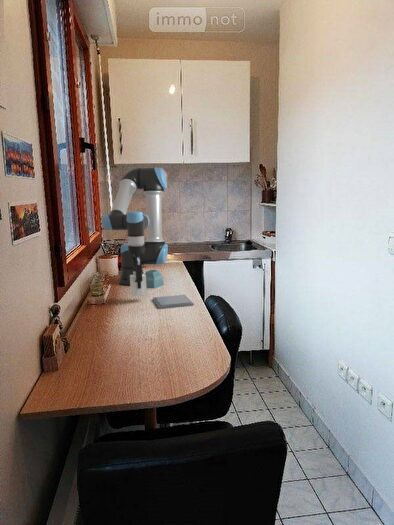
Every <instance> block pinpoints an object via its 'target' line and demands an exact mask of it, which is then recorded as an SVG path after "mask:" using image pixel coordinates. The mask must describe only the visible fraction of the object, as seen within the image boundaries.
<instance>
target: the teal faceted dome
mask: <svg viewBox="0 0 394 525" xmlns="http://www.w3.org/2000/svg"><path fill="white" fill-rule="evenodd" d="M144 274H145V275H146V288H147V289H152V290H153V289H157V288H159V287H162V286H164V279H163V275H162V273H161V272H160V270H157V269H150V270H147V271H145V273H144Z"/></svg>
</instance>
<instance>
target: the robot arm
mask: <svg viewBox="0 0 394 525" xmlns="http://www.w3.org/2000/svg"><path fill="white" fill-rule="evenodd" d="M167 181H168V180H167V175H166V172H165V170H164V168H163V167H136V168H133V169H130V170H129V171H127V173H125V174H124V175H123V176H122V178H121V179H120V180H119V183H118V187H119V189H118V192H117V194H116V196H115V199H114V202H113V205H112V208H111V210H110V212H109V214H104V215H102V218H101V225H102V227H103V230H106V231H107V230H108V231H127V232H126V233H127V238H126V241H127V243H126V242H125V243H123V244H121V246H120V261H121V270H120V274H119V278H118V279H119V280H118V282H119V284H120V285H125V286H130V275H133V272H136V281H135V282H136V295H137V296H143V295H142V274H145V273H144V271H143V265H156V266H157V265H164V264H165V263H166V262H167V259H168V253H169V252H168V250H169V248H168V247H169V244H167V243H166V241H165V240H164V238H163V218H162V215H163V214H162V210H163V209H162V207H163V206H162V205H163V204H162V195H164V193H165V190H167V188H168V182H167ZM137 190H142V191H143V192H142V193H143V194H144V195H145V203H146V204H145V206H146V207H145V209H146V214H145V213H143V211H140V210H137V211H134V210H133V211H128V209H129V207H130V203H131V201H132V197H133V194H135V192H136V191H137ZM145 229H146V238H145V233H144V232H145V231H144V230H145Z"/></svg>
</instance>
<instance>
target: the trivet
mask: <svg viewBox="0 0 394 525" xmlns="http://www.w3.org/2000/svg"><path fill="white" fill-rule="evenodd" d="M152 301H153V302H154V304H155V305H156V307H157V308H158V309H159V310H160V309H161V310H163V309H171V308H181V307H183V308H184V307H191V306H194V302H193V301H192V300H191V299H190V298H189V297H187V295H186V294H177V295H166V296H155V297H152Z"/></svg>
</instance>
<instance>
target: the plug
mask: <svg viewBox="0 0 394 525" xmlns="http://www.w3.org/2000/svg"><path fill="white" fill-rule="evenodd" d="M135 281H136V272H133V275H130V285H129V286H130V289H129V290H130V295H131V297H134V296H135V297H136V296H138V295H136V282H135ZM147 289H148V288H146V275H145V273H144V274H142V295H141V296H146V295H148V292H147Z"/></svg>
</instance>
